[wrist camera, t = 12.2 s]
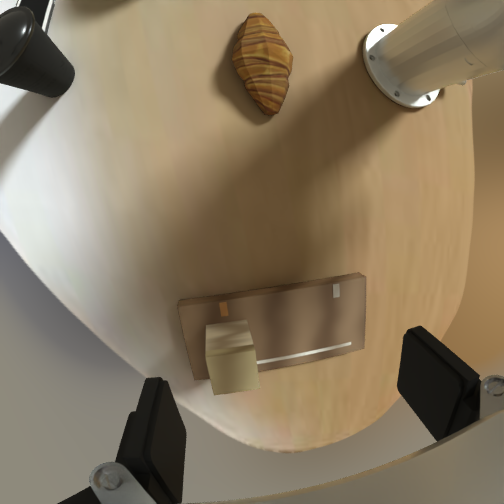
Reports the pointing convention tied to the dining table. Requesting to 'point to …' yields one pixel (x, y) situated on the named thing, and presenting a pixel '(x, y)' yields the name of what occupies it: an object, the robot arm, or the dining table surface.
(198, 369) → the walnut board
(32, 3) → the cell phone
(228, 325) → the block
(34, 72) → the drinking cup
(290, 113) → the dining table surface
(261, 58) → the croissant
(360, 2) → the dining table surface
